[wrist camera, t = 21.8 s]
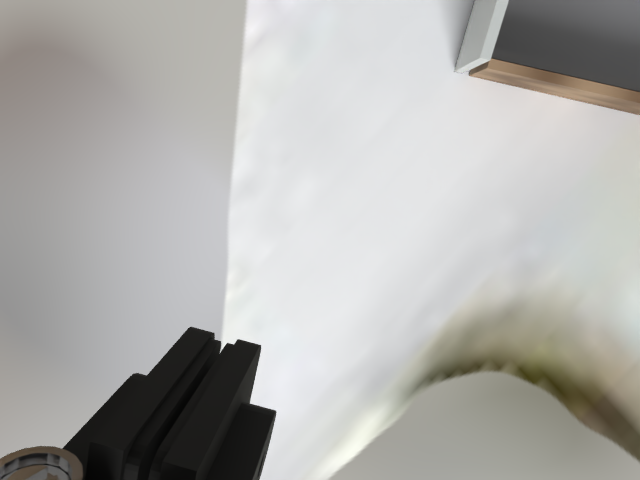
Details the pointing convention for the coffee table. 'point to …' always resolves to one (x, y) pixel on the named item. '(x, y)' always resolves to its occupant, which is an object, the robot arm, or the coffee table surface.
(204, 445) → the robot arm
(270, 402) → the coffee table surface
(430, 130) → the coffee table surface
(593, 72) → the sliding tray
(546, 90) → the walnut housing
